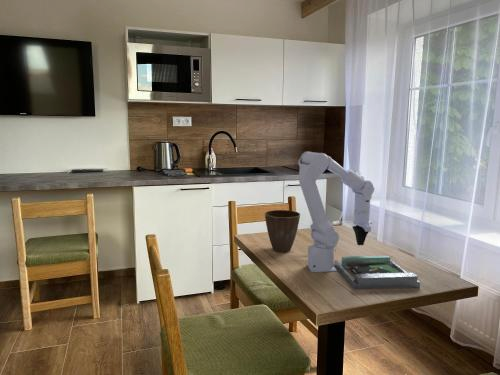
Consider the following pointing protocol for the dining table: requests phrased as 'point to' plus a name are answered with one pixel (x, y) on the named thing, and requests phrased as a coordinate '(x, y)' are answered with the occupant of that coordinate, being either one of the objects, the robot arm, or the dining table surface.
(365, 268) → the disk drive
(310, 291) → the dining table surface
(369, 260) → the long teal rectangular bar
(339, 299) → the dining table surface
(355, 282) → the shallow rimmed tray
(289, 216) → the plant pot
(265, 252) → the dining table surface
